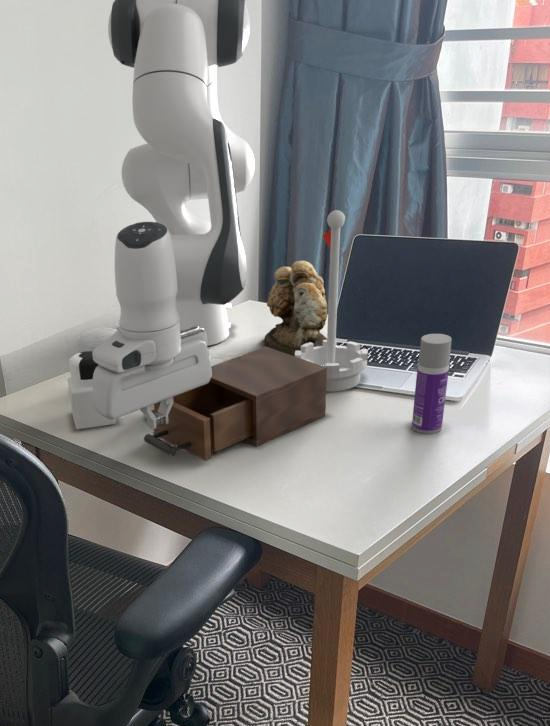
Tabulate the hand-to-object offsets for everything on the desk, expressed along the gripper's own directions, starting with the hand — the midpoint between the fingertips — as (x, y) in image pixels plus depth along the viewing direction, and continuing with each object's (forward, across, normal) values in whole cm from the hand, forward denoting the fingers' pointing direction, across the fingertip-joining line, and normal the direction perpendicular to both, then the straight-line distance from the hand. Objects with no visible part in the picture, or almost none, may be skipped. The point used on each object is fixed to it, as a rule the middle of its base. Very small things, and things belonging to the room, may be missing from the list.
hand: (158, 425), depth 131 cm
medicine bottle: (+6, -1, -21) cm, 22 cm away
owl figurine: (+6, -50, -20) cm, 54 cm away
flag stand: (+6, -42, -3) cm, 42 cm away
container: (+6, -38, +22) cm, 44 cm away
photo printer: (+6, -10, -29) cm, 31 cm away
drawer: (+5, -9, 0) cm, 10 cm away
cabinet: (+6, -22, 0) cm, 23 cm away
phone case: (+6, -28, -18) cm, 33 cm away
